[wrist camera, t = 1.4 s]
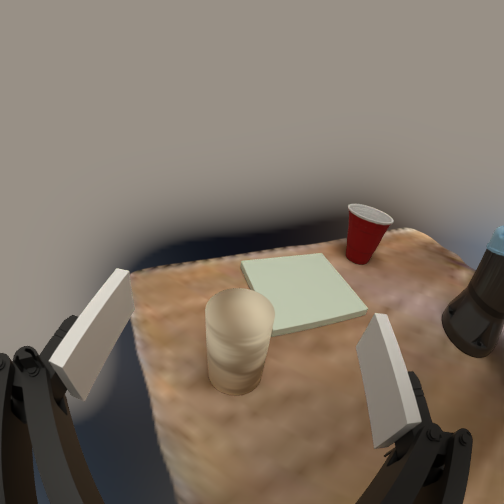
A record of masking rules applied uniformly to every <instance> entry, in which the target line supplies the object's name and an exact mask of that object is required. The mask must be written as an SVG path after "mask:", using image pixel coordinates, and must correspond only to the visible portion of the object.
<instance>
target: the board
mask: <svg viewBox="0 0 504 504" xmlns="http://www.w3.org/2000/svg"><path fill="white" fill-rule="evenodd" d="M241 269H242V272H243V274H244V276H245V278H246V281H247V283H248V285H249V287H250V290H253V291H255V292H258V293H260V294H262V295H263V296H265V297H266V298H267V299H268V300H269V301H270V302H271V303H272V305H273V307H274V310H275V319H274V323H273V328H272V333H271V336H272V337H274V336H279V335H284V334H289V333H294V332H298V331H303V330H307V329H312V328H316V327H320V326H325V325H329V324H333V323H337V322H341V321H345V320H348V319H352V318H356V317H360V316H363V315H365V314H366V312H367V310H368V308H367V307H366V306H365V304H364V303H363V302H362V301H361V299H360V298H359V297H358V296H357V295H356V293H355V292H354V291H353V290H352V288H351V287H350V286H349V285H348V284H347V282H346V281H345V280H344V279H343V278H342V276H341V275H340V274H339V273H338V272H337V271H336V269H335V268H334V267H333V266H332V265H331V264H330V262H329V261H328V260H327V259H326V258H325V257H324V255H323V254H322V253H318V254H308V255H297V256H287V257H277V258H266V259H256V260H245V261H241Z"/></svg>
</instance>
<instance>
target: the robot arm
mask: <svg viewBox="0 0 504 504" xmlns="http://www.w3.org/2000/svg"><path fill="white" fill-rule="evenodd" d="M134 310H135V307H134V301H133V295H132V288H131V282H130V274H129V271H126V270H122V269H118V268H117V269H116V270H115V272H114V273H113V274H112V275H111V276H110V277H109V279H108V280H107V281H106V282H105V284H104V285H103V286H102V287H101V289H100V290H99V291H98V292H97V294H96V295H95V296H94V298H93V299H92V300H91V301H90V303H89V304H88V306H87V307H86V308H85V310H84V311H83V312H82V314H81V315H80V316H79V317H77V316H74V315H72V316H70V317H69V318H67V319H66V320H64V322H63V323H62V324H61V326H60V327H59V329H58V330H57V331H56V333H55V334H54V336H53V337H52V338H51V339H50V341H49V342H48V344H47V345H46V346H45V348H44V349H43V351H42V352H41V354H40V355H38V353H37V351H36V350H35V349H34V348H32V347H30V346H24V347H21V348H20V349H19V350H18V351H16V353H15V355H14V358H13V361H11V359H10V358H9V356H7V355H6V354H4V353H0V504H38V502H37V496H36V490H35V481H34V471H33V457H32V448H33V451H34V455H35V459H36V463H37V466H38V470H39V473H40V476H41V479H42V482H43V485H44V488H45V490H46V493H47V496H48V498H49V501H50V504H104V502H103V499H102V497H101V495H100V494H99V491H98V489H97V487H96V485H95V483H94V480H93V478H92V476H91V473H90V471H89V469H88V466H87V463H86V461H85V458H84V455H83V453H82V450H81V447H80V444H79V441H78V438H77V435H76V432H75V428H74V425H73V422H72V418H71V415H70V411H69V407H68V403H67V399H66V396H65V393H66V391H67V390H68V391H69V392H70V394H71V395H72V396H73V397H76V398H78V399H80V400H82V401H84V402H85V400H86V398H87V396H88V394H89V392H90V390H91V388H92V386H93V384H94V382H95V380H96V378H97V376H98V374H99V372H100V370H101V368H102V367H103V365H104V363H105V361H106V359H107V357H108V355H109V353H110V352H111V350H112V348H113V346H114V345H115V343H116V341H117V339H118V337H119V336H120V334H121V332H122V330H123V329H124V327H125V325H126V323H127V322H128V320H129V318H130V317H131V315H132V313H133V312H134ZM442 322H443V326H444V329H445V331H446V333H447V335H448V336H449V338H450V339H451V341H452V342H453V343H454V344H455V345H456V346H457V347H458V348H459V349H461V350H462V351H463V352H465V353H467V354H469V355H471V356H474V357H485V356H487V355H488V354H489V353H490V352H491V351H492V349H493V348H494V347H495V345H496V343H497V341H498V339H499V336H500V333H501V331H502V328H503V325H504V226H500V227H498V228H497V229H496V230H495V231H494V234H493V236H492V238H491V240H490V242H489V243H488V244H487V249H486V252H485V254H484V256H483V258H482V260H481V262H480V264H479V266H478V268H477V270H476V272H475V273H474V275H473V277H472V279H471V281H470V283H469V285H468V286H467V288H466V289H465V290H463V291H462V292H461V293H460V294H459V295H458V296H457V297H456V298H455V299H453V300H452V301H451V302H450V303H449V304H448V306H447V308H446V309H445V311H444V313H443V316H442ZM356 350H357V354H358V359H359V364H360V368H361V373H362V378H363V383H364V388H365V394H366V399H367V405H368V411H369V417H370V423H371V430H372V436H373V444H374V449H376V448H384V447H389V446H390V445H391V444H393V443H394V442H395V448H393V449H392V450H390V451H389V452H387V453H386V454H385V455H384V457H386V456H388V455H389V454H390V455H389V456H388V458H387V460H386V461H385V463H384V464H383V466H382V468H381V469H380V471H379V472H378V474H377V475H376V476H375V478H374V479H373V481H372V482H371V484H370V485H369V486H368V488H367V489H366V490H365V492H364V493H363V494H362V496H361V497H360V498H359V500H358V501H357V502H356V503H355V504H463V500H464V496H465V491H466V486H467V481H468V475H469V468H470V461H471V453H472V443H473V440H472V435H471V433H470V432H469V431H468V430H467V429H464V428H461V429H459V430H458V431H456V432H455V433H449V432H443V431H442V430H441V428H440V427H439V426H438V425H437V424H434V423H432V420H431V417H430V413H429V410H428V406H427V403H426V400H425V397H424V393H423V390H422V387H421V384H420V381H419V379H418V377H417V376H416V374H415V373H414V372H413V371H411V372H407V369H406V366H405V363H404V360H403V357H402V354H401V351H400V349H399V346H398V343H397V340H396V337H395V335H394V332H393V329H392V327H391V324H390V322H389V319H388V317H387V314H378V313H375V314H374V316H373V318H372V319H371V321H370V323H369V325H368V327H367V328H366V330H365V332H364V334H363V335H362V337H361V339H360V341H359V342H358V344H357V346H356Z"/></svg>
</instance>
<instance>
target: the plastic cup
mask: <svg viewBox="0 0 504 504" xmlns="http://www.w3.org/2000/svg"><path fill="white" fill-rule="evenodd" d="M348 209H349V229H348V237H347V248H346V257H347V258H348V259H349V260H350V261H352V262H354V263H357V264H366V263H367V262H368V261H369V260H370V258H371V256H372V254H373V253H374V251H375V250H376V248H377V246H378V245H379V243H380V241H381V239H382V237H383V235H384V234H385V232H386V231H387V229H388V227H389V226H390V225H391V224H392V223H393V222H394V221H393V219H392V218H391V217H390V216H389V215H387V214H386V213H384V212H382V211H380V210H377V209H375V208H372V207H369V206H366V205H361V204H350V205H348Z"/></svg>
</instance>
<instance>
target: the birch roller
mask: <svg viewBox="0 0 504 504" xmlns="http://www.w3.org/2000/svg"><path fill="white" fill-rule="evenodd" d="M205 314H206V341H207V361H208V376H209V380H210V382H211V383H212V385H213V386H214V387H215V388H216V389H217V390H219V391H220V392H222V393H224V394H227V395H234V396H238V395H244V394H247V393H249V392H251V391H253V390H254V389H255V388H256V387H257V386H258V384H259V382H260V380H261V376H262V372H263V367H264V363H265V359H266V355H267V350H268V346H269V341H270V337H271V333H272V328H273V323H274V319H275V310H274V307H273V305H272V303H271V302H270V301H269V300H268V299H267V298H266V297H265V296H263V295H262V294H260V293H258V292H255V291H253V290H249V289H243V288H233V289H227V290H223V291H221V292H219V293H217V294H215V295H214V296H213V297H211V299H210V300H209V301H208V303H207V305H206V310H205Z"/></svg>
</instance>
